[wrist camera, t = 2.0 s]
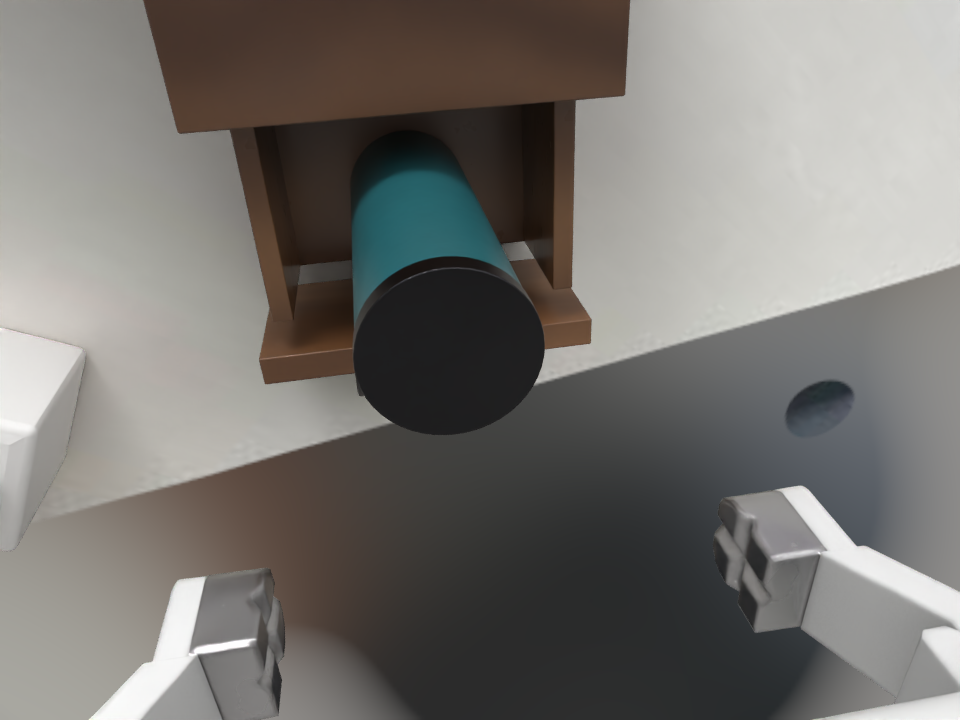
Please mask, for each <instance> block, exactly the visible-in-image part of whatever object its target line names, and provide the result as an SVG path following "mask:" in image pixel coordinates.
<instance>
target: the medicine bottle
mask: <svg viewBox="0 0 960 720" xmlns="http://www.w3.org/2000/svg"><path fill="white" fill-rule="evenodd" d="M85 358H86V352H85V350H84V349H83V348H80V347H77V346H73V345H69V344H65V343H61V342H57V341H53V340H49V339H45V338H41V337H37V336H33V335H29V334H25V333H21V332H18V331H14V330H10V329H6V328H2V327H0V550H1V551H12V550H14V549H15V548H16V547H17V546H18V544H19V542H20V540H21V538H22V537H23V535H24V533H25V531H26V529H27V527H28V525H29V524H30V522H31V520H32V518H33V516H34V514H35V513H36V511H37V509H38V507H39V505H40V503H41V501H42V500H43V498H44V496H45V494H46V492H47V490H48V488H49V487H50V485H51V483H52V481H53V479H54V477H55V476H56V474H57V472H58V470H59V468H60V466H61V464H62V463H63V461H64V459H65V457H66V452H67V447H68V442H69V437H70V432H71V427H72V422H73V418H74V413H75V408H76V403H77V398H78V393H79V388H80V383H81V378H82V373H83V368H84V363H85Z"/></svg>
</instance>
